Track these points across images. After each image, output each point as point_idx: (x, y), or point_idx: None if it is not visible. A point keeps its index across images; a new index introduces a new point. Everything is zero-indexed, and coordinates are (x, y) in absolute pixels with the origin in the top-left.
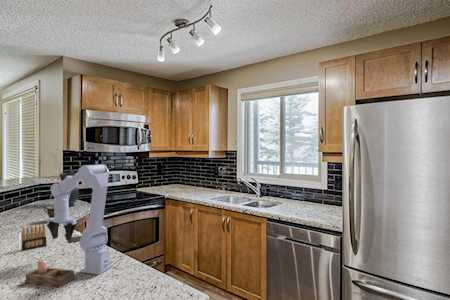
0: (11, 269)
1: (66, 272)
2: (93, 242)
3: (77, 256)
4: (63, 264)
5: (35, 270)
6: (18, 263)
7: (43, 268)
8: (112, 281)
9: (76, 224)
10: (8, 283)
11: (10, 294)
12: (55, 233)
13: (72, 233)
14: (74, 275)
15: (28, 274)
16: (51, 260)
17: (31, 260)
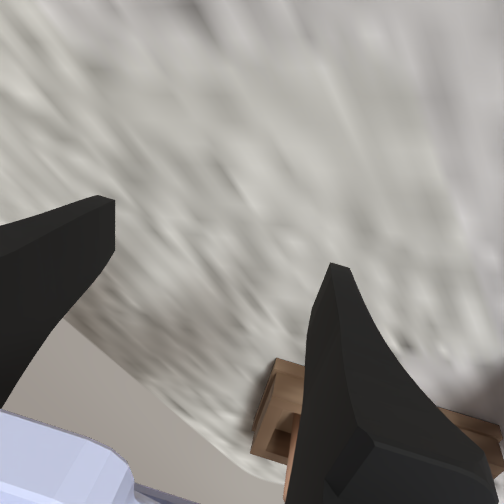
0: None
1: None
2: None
3: (379, 78)
4: (332, 251)
5: (266, 427)
6: (10, 211)
7: None
8: None
9: (490, 478)
10: (188, 412)
11: (269, 478)
12: (72, 264)
13: (369, 317)
14: (497, 438)
15: (263, 455)
16: (189, 171)
17: (41, 164)
